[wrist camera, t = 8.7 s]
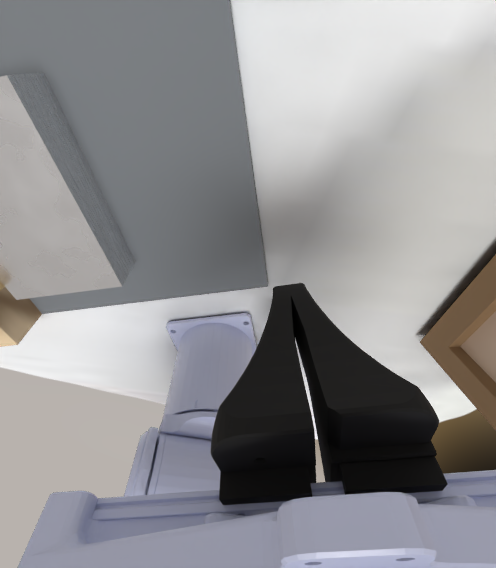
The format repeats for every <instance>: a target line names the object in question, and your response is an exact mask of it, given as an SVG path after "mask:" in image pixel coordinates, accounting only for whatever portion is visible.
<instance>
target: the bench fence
mask: <svg viewBox="0 0 496 568" xmlns="http://www.w3.org/2000/svg"><path fill="white" fill-rule="evenodd" d="M41 315H42V313H41V312H40V311H39V310H38V308H37V307H36V306H35V305H34V304H33V302H32V301H31V300H30V299H29V298H28V299H20V300H16V299H15V298H14V296H13V295H12V294H11V293H10V292H9V291H8V290H7V288H6V287H5V286H4V285H3V284H2V283H1V282H0V347H2V346H11V345H18V344H19V342H20V341H21V340H22V339H23V337H24V336H25V335H26V334H27V332H28V331H29V330H30V329H31V327H32V326H33V325H34V323H35V322H36V321H37V320H38V318H39V317H40V316H41Z"/></svg>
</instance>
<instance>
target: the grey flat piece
mask: <svg viewBox="0 0 496 568" xmlns="http://www.w3.org/2000/svg"><path fill="white" fill-rule="evenodd" d="M134 264H135V261H134V259H133V257H132V254H131V252H130V250H129V248H128V246H127V244H126V242H125V240H124V238H123V236H122V233H121V231H120V229H119V227H118V225H117V223H116V221H115V219H114V217H113V215H112V213H111V210H110V208H109V206H108V204H107V202H106V200H105V198H104V196H103V194H102V192H101V190H100V187H99V185H98V183H97V181H96V179H95V177H94V175H93V173H92V171H91V169H90V166H89V164H88V162H87V160H86V158H85V156H84V154H83V152H82V150H81V148H80V146H79V143H78V141H77V139H76V137H75V135H74V133H73V131H72V129H71V127H70V125H69V123H68V120H67V118H66V116H65V114H64V112H63V110H62V108H61V106H60V104H59V102H58V99H57V97H56V95H55V93H54V91H53V89H52V87H51V85H50V83H49V81H48V79H47V76H46V74H45V73H32V74H18V75H6V76H1V77H0V282H1V283H2V284H3V285H4V286H5V287H6V288H7V290H8V291H9V292H10V293H11V294H12V295H13V296H14V298H15V299H16V300H20V299H28V298H36V297H43V296H51V295H59V294H67V293H75V292H83V291H91V290H99V289H106V288H114V287H122V286H123V284H124V282H125V281H126V279H127V277H128V275H129V273H130V271H131V269H132V267H133V266H134Z"/></svg>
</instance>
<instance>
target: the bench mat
mask: <svg viewBox="0 0 496 568" xmlns="http://www.w3.org/2000/svg"><path fill="white" fill-rule="evenodd" d="M32 73H45V74H46V76H47V79H48V81H49V83H50V85H51V87H52V89H53V91H54V93H55V95H56V97H57V99H58V102H59V104H60V106H61V108H62V110H63V112H64V114H65V116H66V118H67V120H68V123H69V125H70V127H71V129H72V131H73V133H74V135H75V137H76V139H77V141H78V143H79V146H80V148H81V150H82V152H83V154H84V156H85V158H86V160H87V162H88V164H89V166H90V169H91V171H92V173H93V175H94V177H95V179H96V181H97V183H98V185H99V187H100V190H101V192H102V194H103V196H104V198H105V200H106V202H107V204H108V206H109V208H110V210H111V213H112V215H113V217H114V219H115V221H116V223H117V225H118V227H119V229H120V231H121V233H122V236H123V238H124V240H125V242H126V244H127V246H128V248H129V250H130V252H131V254H132V257H133V259H134V261H135V264H134V266H133V267H132V269H131V271H130V273H129V275H128V277H127V279H126V281H125V282H124V284H123V286H122V287H114V288H106V289H99V290H91V291H83V292H75V293H67V294H59V295H51V296H43V297H36V298H29V299H30V300H31V301H32V302H33V304H34V305H35V306H36V307H37V308H38V310H39V311H40V312H41V313H42V314H45V313H54V312H62V311H70V310H78V309H86V308H95V307H103V306H111V305H119V304H127V303H136V302H144V301H152V300H160V299H168V298H177V297H185V296H193V295H201V294H209V293H218V292H226V291H234V290H242V289H250V288H259V287H267V286H268V280H267V273H266V265H265V258H264V250H263V243H262V235H261V228H260V221H259V213H258V206H257V198H256V191H255V183H254V176H253V169H252V161H251V154H250V146H249V139H248V132H247V124H246V117H245V109H244V102H243V94H242V87H241V80H240V72H239V65H238V57H237V50H236V42H235V35H234V28H233V20H232V13H231V5H230V0H0V77H1V76H6V75H18V74H32Z"/></svg>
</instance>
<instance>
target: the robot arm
mask: <svg viewBox="0 0 496 568" xmlns="http://www.w3.org/2000/svg"><path fill="white" fill-rule="evenodd" d="M245 321H247V322H245ZM166 328H167V330H168V332H169V335H170V337H171V339H172V341H173V343H174V345H175V347H176V349H177V351H178V353H177V357H176V362H175V366H174V371H173V375H172V380H171V384H170V388H169V393H168V397H167V402H166V406H165V411H164V415H163V420H162V423H161V425H160V428H159V431H158V428H154V427H150V428H149V430H148V431H146V432H145V433H143V434H142V435H141V437H140V440H139V443H138V447H137V450H136V454H135V458H134V461H133V465H132V469H131V472H130V476H129V479H128V483H127V487H126V490H125V494H124V497H111V498H97V497H96V496H95V495H94V494H92V493H90V492H87V491H69V492H55V493H52V494H50V496H49V498H48V500H47V503H46V505H45V507H44V509H43V511H42V514H41V516H40V518H39V520H38V523H37V525H36V527H35V529H34V532H33V534H32V536H31V538H30V541H29V543H28V545H27V547H26V549H25V552H24V554H23V556H22V558H21V561H20V563H19V565H18V567H17V568H496V470H491V471H476V472H462V473H448V474H443V473H442V471H441V469H440V467H439V464H438V462H437V460H436V458H435V456H436V450H435V448H434V446H433V444H432V442H431V439H432V436H433V435H434V433H435V431H436V429H437V427H438V424H439V419H438V417H437V415H436V413H435V411H434V409H433V407H432V406H431V404H430V403H429V401H428V400H427V399H426V397H425V396H424V394H423V393H422V392H421V390H420V389H419V388H418V387H417V386H415V385H414V384H412V383H410V382H408V381H407V380H405V379H403V378H402V377H400V376H398V375H397V374H395V373H393V372H392V371H390V370H389V369H387V368H386V367H384V366H383V365H381V364H380V363H379V362H377V361H376V360H375V359H373V358H372V357H371V356H369V355H368V354H367V353H365V352H364V351H363V350H361V349H360V348H359V347H358V346H357V345H355V344H354V343H353V342H352V341H351V340H350V339H349V338H348V337H346V336H345V335H344V334H343V333H342V332H341V331H340V330H339V329H338V328H337V327H336V326H335V325H334V324H333V323H332V321H331V320H330V319H329V318H328V317H327V316H326V315H325V313H324V312H323V311H322V310H321V309H320V307H319V306H318V305H317V304H316V302H315V301H314V299H313V298H312V297H311V295H310V294H309V292H308V290H307V289H306V287H305V285H304V284H303V283H298V284H291V285H283V286H276V287H274V288H273V299H272V304H271V309H270V313H269V316H268V320H267V323H266V326H265V329H264V332H263V334H262V337H261V339H260V342H259V344H258V346H256V341H255V336H254V331H253V326H252V321H251V316H250V315H249V314H248V313H241V314H232V315H223V316H214V317H206V318H197V319H188V320H180V321H171V322H168V323H167V326H166ZM295 338H296V342H297V346H298V349H299V353H300V356H301V360H302V363H303V367H304V370H305V374H306V377H307V381H308V386H309V391H310V396H311V402H312V407H313V413H314V418H315V424H316V429H317V435H318V441H319V446H320V451H321V458H322V464H323V469H324V476H325V482H323V483H316V469H315V465H316V457H315V435H314V427H313V421H312V416H311V411H310V407H309V403H308V399H307V394H306V390H305V386H304V381H303V377H302V372H301V368H300V363H299V358H298V353H297V348H296V344H295Z"/></svg>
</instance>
